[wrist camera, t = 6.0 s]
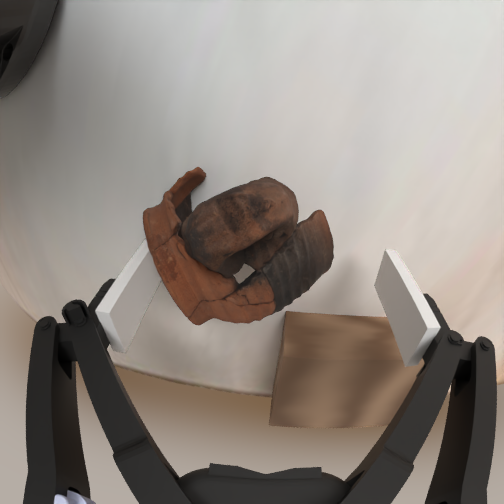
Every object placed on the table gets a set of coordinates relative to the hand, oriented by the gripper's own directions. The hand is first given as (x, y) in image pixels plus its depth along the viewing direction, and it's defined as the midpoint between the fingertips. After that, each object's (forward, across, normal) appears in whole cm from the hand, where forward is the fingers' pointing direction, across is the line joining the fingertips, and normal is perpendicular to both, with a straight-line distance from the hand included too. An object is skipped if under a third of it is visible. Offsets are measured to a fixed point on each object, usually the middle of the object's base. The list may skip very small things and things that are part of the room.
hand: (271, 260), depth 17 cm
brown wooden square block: (+4, +9, -15) cm, 18 cm away
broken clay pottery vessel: (0, +2, +4) cm, 4 cm away
